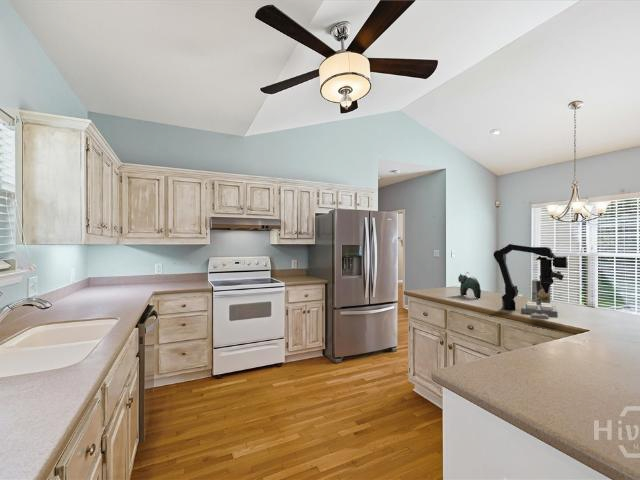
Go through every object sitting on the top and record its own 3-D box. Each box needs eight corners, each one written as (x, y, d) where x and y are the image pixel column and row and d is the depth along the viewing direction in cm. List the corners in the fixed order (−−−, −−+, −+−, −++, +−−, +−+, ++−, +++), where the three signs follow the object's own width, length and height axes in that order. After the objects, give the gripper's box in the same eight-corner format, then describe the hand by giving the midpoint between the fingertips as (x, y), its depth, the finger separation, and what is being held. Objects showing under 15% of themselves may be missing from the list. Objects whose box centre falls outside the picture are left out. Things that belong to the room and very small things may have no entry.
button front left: (526, 308, 188) (526, 304, 188) (526, 307, 192) (526, 303, 192) (536, 309, 185) (536, 305, 185) (536, 308, 189) (536, 304, 189)
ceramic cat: (457, 295, 253) (457, 271, 253) (464, 294, 255) (463, 271, 255) (476, 299, 234) (476, 273, 234) (483, 298, 236) (482, 273, 236)
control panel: (522, 313, 187) (522, 308, 187) (522, 307, 202) (522, 303, 202) (557, 316, 177) (557, 311, 177) (555, 311, 192) (555, 306, 192)
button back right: (541, 307, 190) (541, 304, 190) (541, 306, 194) (540, 302, 194) (551, 308, 187) (551, 304, 187) (550, 307, 191) (550, 303, 191)
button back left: (526, 306, 194) (526, 302, 194) (526, 305, 198) (526, 301, 198) (536, 307, 191) (536, 303, 191) (536, 305, 195) (536, 302, 195)
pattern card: (531, 317, 177) (531, 314, 177) (531, 314, 184) (531, 312, 184) (548, 318, 173) (548, 316, 173) (547, 316, 179) (547, 313, 179)
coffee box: (537, 304, 214) (536, 281, 214) (531, 302, 220) (531, 280, 220) (551, 304, 213) (550, 281, 213) (545, 302, 219) (544, 280, 219)
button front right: (541, 310, 184) (541, 306, 184) (541, 308, 188) (541, 304, 188) (552, 311, 181) (551, 307, 181) (551, 309, 185) (551, 305, 185)
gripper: (564, 269, 172) (564, 296, 172) (561, 266, 188) (561, 291, 187) (540, 268, 179) (540, 294, 179) (539, 266, 194) (539, 290, 194)
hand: (546, 292), depth 184 cm, fingers open, 6 cm apart
